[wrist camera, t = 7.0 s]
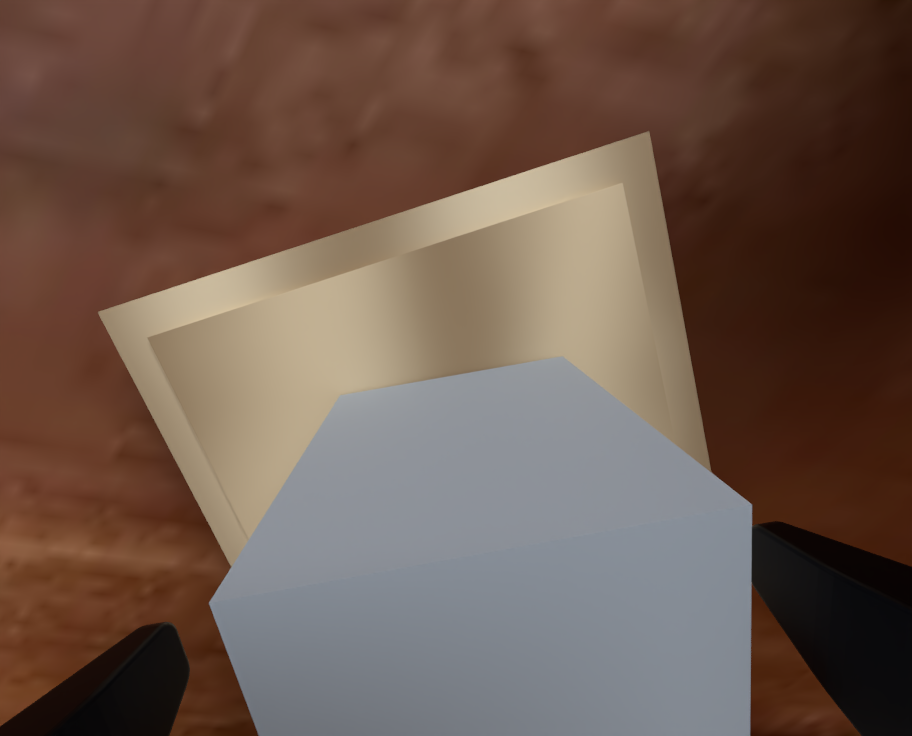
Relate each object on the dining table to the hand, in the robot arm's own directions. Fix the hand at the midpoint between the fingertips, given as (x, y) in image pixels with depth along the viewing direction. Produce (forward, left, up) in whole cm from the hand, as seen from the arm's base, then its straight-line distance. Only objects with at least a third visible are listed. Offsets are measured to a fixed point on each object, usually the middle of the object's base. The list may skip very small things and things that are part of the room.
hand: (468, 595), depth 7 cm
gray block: (0, 0, -4) cm, 4 cm away
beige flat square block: (0, 0, -7) cm, 7 cm away
